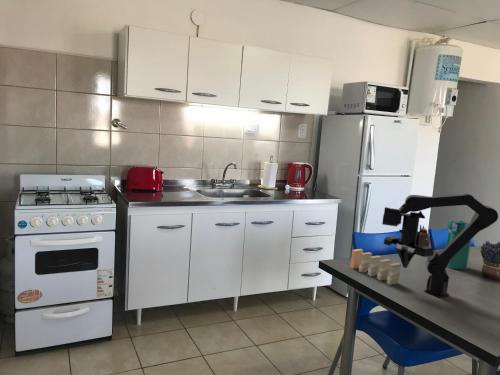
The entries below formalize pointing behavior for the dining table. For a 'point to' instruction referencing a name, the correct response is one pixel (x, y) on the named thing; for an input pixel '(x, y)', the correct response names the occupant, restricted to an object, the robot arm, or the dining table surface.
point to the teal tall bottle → (461, 256)
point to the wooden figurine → (424, 235)
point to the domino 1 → (355, 258)
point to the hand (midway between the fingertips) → (405, 267)
